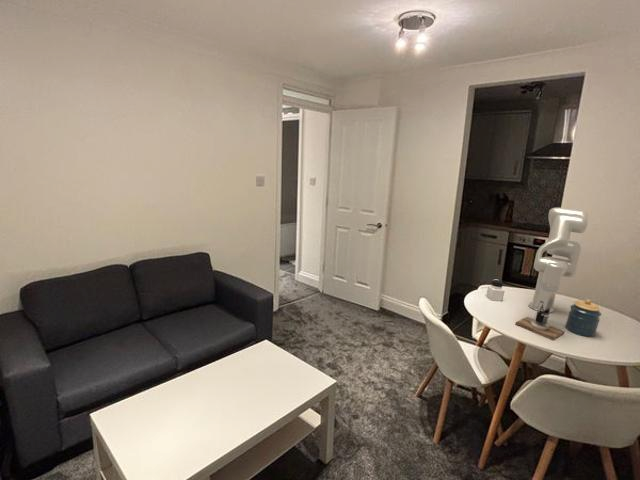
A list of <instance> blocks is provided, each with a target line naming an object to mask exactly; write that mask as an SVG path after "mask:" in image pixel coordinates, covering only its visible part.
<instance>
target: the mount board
mask: <svg viewBox="0 0 640 480" xmlns="http://www.w3.org/2000/svg"><path fill="white" fill-rule="evenodd" d="M515 326H518V327H520V328H523V329H525V330H528V331H530V332H532V333H535V334H537V335H539V336H542V337H543V338H545V339H549V340H551V341H554V340H556V339H558V338H560V337H561V336H563V335H564V334H565V331H564V330H562V329H559V328H557V327H554V326H551V325H549V323H547V324H540V323H537V322H536V321H535V319H533V318H532V317H529V316H526V317H524V318H522V319H519V320H517V321H516V322H515Z"/></svg>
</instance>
